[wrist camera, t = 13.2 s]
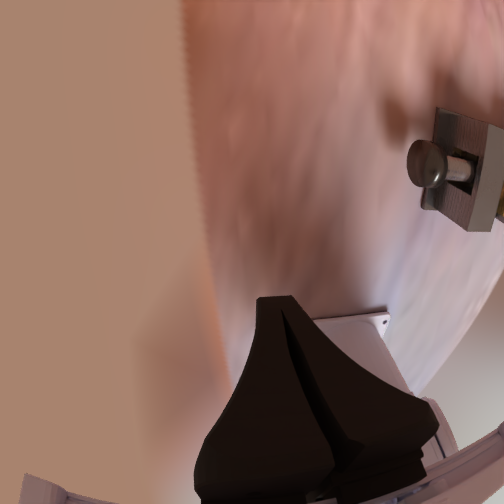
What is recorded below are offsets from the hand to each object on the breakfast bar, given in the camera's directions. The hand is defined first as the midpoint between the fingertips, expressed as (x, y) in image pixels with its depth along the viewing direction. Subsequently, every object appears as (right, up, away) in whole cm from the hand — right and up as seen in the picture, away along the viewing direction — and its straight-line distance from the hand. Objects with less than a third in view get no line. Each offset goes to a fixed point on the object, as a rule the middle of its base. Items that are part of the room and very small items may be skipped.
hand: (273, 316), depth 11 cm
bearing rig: (+18, +10, +8) cm, 22 cm away
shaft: (+16, +9, +6) cm, 20 cm away
